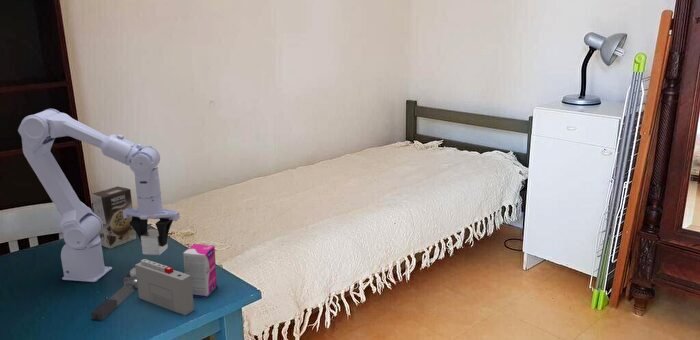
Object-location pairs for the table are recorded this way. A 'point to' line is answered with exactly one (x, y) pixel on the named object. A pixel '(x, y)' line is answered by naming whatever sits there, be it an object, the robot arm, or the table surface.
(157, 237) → the brushed metal cube
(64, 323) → the table surface
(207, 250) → the supplement box
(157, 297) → the cassette player
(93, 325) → the table surface
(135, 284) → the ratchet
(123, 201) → the cookie box
